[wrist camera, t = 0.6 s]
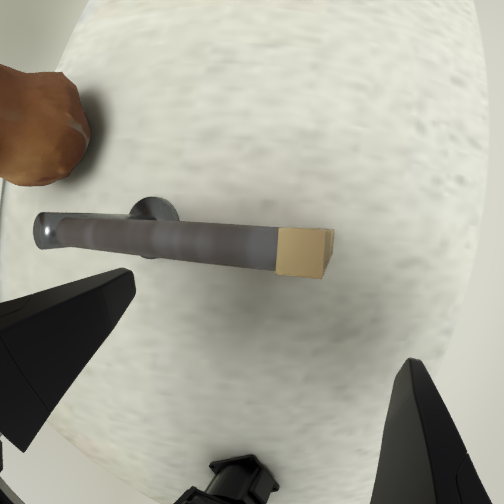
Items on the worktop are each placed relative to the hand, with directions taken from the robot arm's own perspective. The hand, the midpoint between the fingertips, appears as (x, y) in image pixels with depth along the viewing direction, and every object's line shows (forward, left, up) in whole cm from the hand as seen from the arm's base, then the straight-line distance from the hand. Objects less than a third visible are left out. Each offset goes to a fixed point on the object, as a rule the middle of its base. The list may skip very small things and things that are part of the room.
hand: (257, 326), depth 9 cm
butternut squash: (-17, +27, -17) cm, 36 cm away
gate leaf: (-4, +5, -15) cm, 17 cm away
